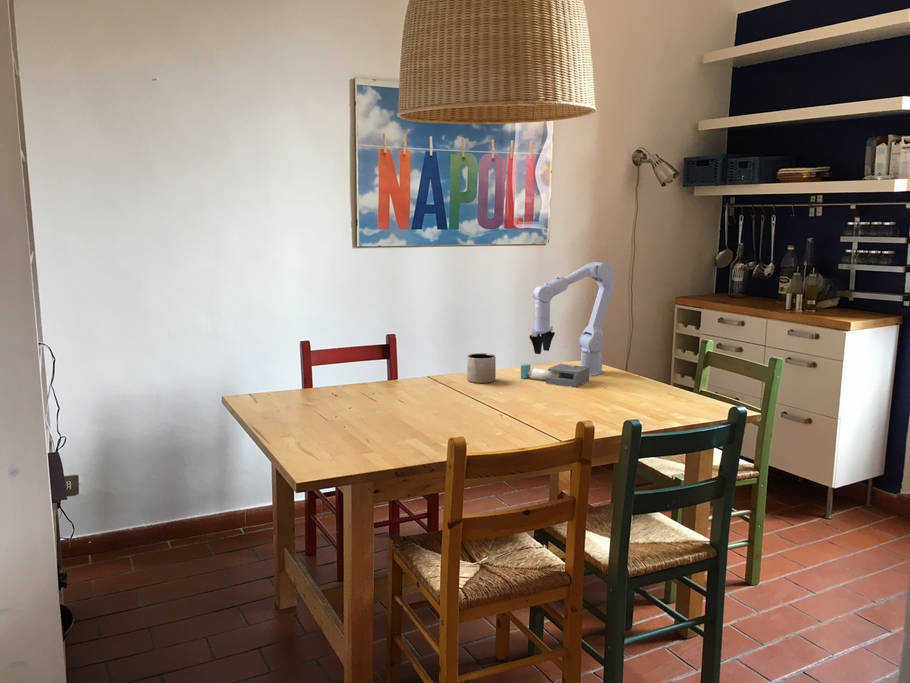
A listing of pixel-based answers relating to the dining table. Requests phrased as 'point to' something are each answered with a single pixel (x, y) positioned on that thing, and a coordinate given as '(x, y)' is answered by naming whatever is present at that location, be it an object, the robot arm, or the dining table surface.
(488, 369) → the planter
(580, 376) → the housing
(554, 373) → the cartridge
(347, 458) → the dining table surface
